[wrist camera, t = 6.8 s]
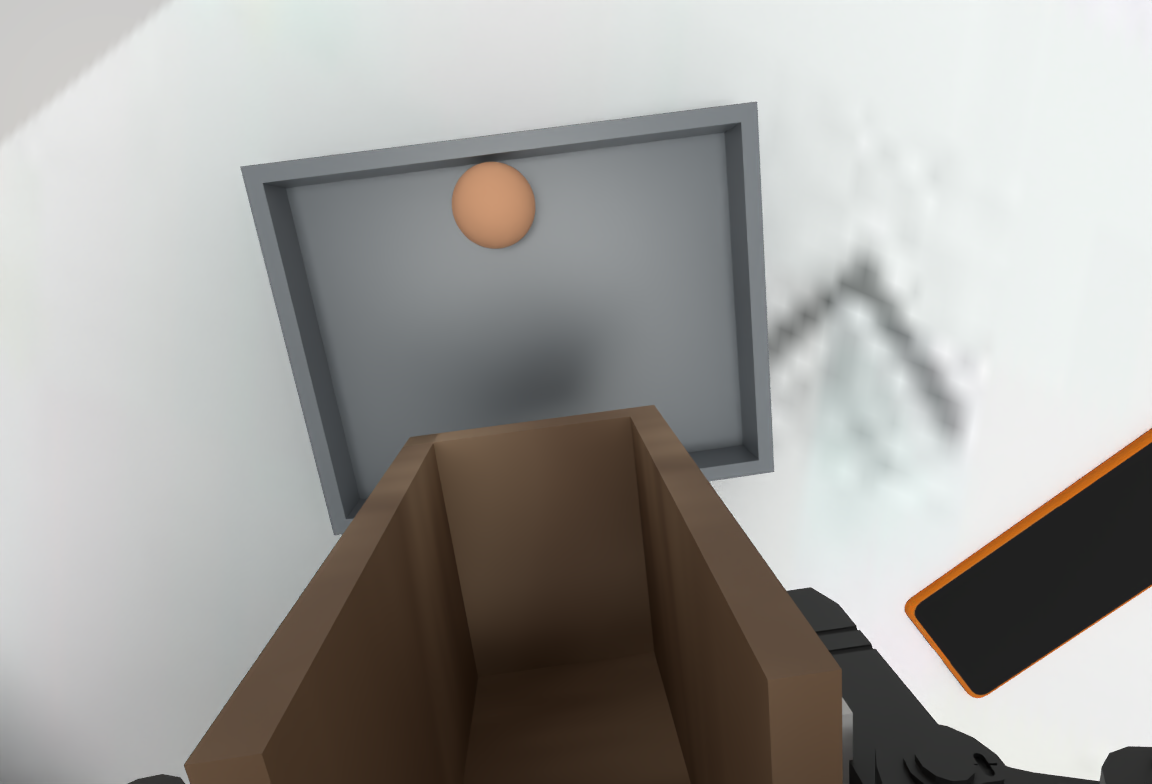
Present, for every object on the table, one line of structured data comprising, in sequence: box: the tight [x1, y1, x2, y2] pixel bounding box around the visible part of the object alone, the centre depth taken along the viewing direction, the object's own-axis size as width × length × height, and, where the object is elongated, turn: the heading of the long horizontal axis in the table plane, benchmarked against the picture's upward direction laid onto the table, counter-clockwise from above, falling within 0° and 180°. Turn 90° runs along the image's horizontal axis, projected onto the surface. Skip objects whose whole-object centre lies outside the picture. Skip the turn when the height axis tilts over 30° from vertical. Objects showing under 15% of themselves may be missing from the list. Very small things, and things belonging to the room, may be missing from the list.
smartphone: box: [905, 429, 1152, 698], centre depth 29 cm, size 8×17×1 cm, turn 129°
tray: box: [241, 102, 774, 535], centre depth 23 cm, size 18×14×2 cm
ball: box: [452, 162, 535, 249], centre depth 21 cm, size 3×3×3 cm
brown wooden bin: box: [184, 405, 843, 784], centre depth 9 cm, size 5×6×8 cm
